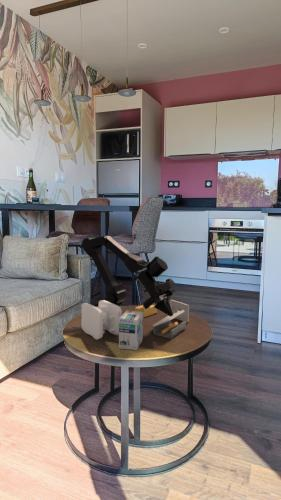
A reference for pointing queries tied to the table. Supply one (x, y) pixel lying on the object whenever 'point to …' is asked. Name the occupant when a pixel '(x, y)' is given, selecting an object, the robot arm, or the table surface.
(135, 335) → the light bulb box
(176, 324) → the cable duct
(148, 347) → the table surface
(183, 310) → the white rectangular panel
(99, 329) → the cable organizer
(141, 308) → the rubber stamp
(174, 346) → the table surface
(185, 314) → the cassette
